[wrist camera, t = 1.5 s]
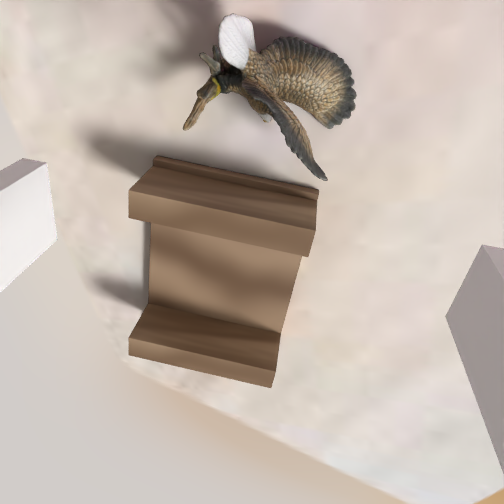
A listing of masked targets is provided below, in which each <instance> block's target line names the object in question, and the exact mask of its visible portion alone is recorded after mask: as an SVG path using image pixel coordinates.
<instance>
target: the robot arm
mask: <svg viewBox="0 0 504 504" xmlns="http://www.w3.org/2000/svg"><path fill="white" fill-rule="evenodd" d="M56 240H57V232H56V225H55V218H54V211H53V203H52V196H51V189H50V182H49V174H48V167H47V163H46V162H40V161H35V160H30V159H24V158H23V159H21V160H19V161H17V162H15V163H14V164H12V165H10V166H8V167H7V168H5V169H3V170H1V171H0V292H1V291H2V290H3V289H5V288H6V287H7V286H8V285H9V284H10V283H11V282H12V281H13V280H14V279H15V278H16V277H17V276H19V275H20V274H21V273H22V272H23V271H24V270H25V269H26V268H27V267H28V266H29V265H30V264H32V263H33V262H34V261H35V260H36V259H37V258H38V257H39V256H40V255H41V254H42V253H43V252H44V251H45V250H47V249H48V248H49V247H50V246H51V245H52V244H53V243H54V242H55V241H56ZM446 319H447V322H448V325H449V327H450V330H451V333H452V335H453V338H454V341H455V343H456V346H457V349H458V352H459V354H460V357H461V360H462V362H463V365H464V368H465V371H466V373H467V376H468V379H469V381H470V384H471V387H472V389H473V392H474V395H475V398H476V400H477V403H478V406H479V408H480V411H481V414H482V416H483V419H484V422H485V425H486V427H487V430H488V433H489V435H490V438H491V441H492V444H493V446H494V449H495V452H496V454H497V457H498V460H499V462H500V465H501V468H502V471H503V473H504V249H502V248H497V247H492V246H486V245H482V246H481V248H480V250H479V252H478V254H477V256H476V258H475V259H474V261H473V263H472V265H471V267H470V269H469V271H468V273H467V275H466V277H465V279H464V281H463V283H462V285H461V287H460V289H459V291H458V293H457V295H456V297H455V299H454V301H453V303H452V305H451V307H450V309H449V311H448V312H447V314H446Z"/></svg>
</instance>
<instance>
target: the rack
mask: <svg viewBox="0 0 504 504" xmlns="http://www.w3.org/2000/svg"><path fill="white" fill-rule="evenodd" d="M318 195H319V190H317V189H312V188H307V187H303V186H298V185H293V184H288V183H284V182H279V181H274V180H270V179H265V178H260V177H255V176H251V175H246V174H241V173H237V172H232V171H227V170H223V169H218V168H213V167H208V166H204V165H199V164H194V163H190V162H185V161H180V160H175V159H171V158H166V157H161V156H156V157H155V158H154V159H153V166H152V167H151V168H150V169H149V170H148V171H147V172H146V173H145V174H144V175H143V176H142V177H141V178H140V179H139V180H138V181H137V182H136V183H135V184H134V185H133V186H132V187H131V188H130V189H129V218H131V219H136V220H141V221H145V222H150V223H151V238H150V268H149V298H148V305H147V306H146V308H145V310H144V312H143V313H142V315H141V317H140V319H139V320H138V322H137V324H136V326H135V327H134V329H133V331H132V333H131V334H130V336H129V355H130V356H135V357H139V358H143V359H148V360H152V361H156V362H161V363H165V364H169V365H173V366H178V367H182V368H186V369H191V370H195V371H199V372H204V373H208V374H212V375H216V376H221V377H225V378H229V379H234V380H238V381H242V382H247V383H251V384H255V385H259V386H264V387H268V388H271V387H272V383H273V380H274V376H275V373H276V366H277V359H278V351H279V344H280V336H281V331H282V327H283V324H284V320H285V316H286V313H287V309H288V305H289V302H290V298H291V294H292V291H293V287H294V283H295V280H296V276H297V272H298V269H299V265H300V261H301V258H302V256H305V257H308V256H309V253H310V249H311V245H312V242H313V238H314V235H315V231H316V212H317V199H318Z"/></svg>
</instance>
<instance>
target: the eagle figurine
mask: <svg viewBox="0 0 504 504" xmlns="http://www.w3.org/2000/svg"><path fill="white" fill-rule="evenodd" d="M218 38H219V43H218V44H219V48H220V51H221V54H222V56H223V59H222V60H221V57H220V53H219V49H218V47H217V46H216V45H213V48H212V51H213V54H214V57H213V59H212V58H211V57H210V56H208V55H207V54H206V53H203V52H202V53H200V55H199V56H200V57H201V58H202V59H203V60H204V61H205V62H206V63H207V64H208V66H209V67H210V72H211V77H210V78H209V80H208V81H207V83H206V84H205V85H204V86H203V87H202V88H200V89H199V90H198V91H197V96H198V98H197V100H196V102H195V105H194V107H193V109H192V112H191V114H190V116H189V117H188V118H187V120H186V122H185V124H184V126H183V130H188V129H190V128H191V127H192V126H193V125H194V124H195V123H196V121H197V119H198V117H199V115H200V114H201V112H202V111H203V110H204V107H205V105H206V104H207V103H208V102H209V101H211V100H212V99H214V98H215V97H216V96H218V95H219V93H225V94H227V93H230V92H235V93H238V94H240V95H242V96H244V97H246V98H247V99H248V102H249V104H250V106H251V107H252V108H253V109H254V110H255V111H256V112H257V113H258V114H259V115H260V117H261V118H262V119H263V121H264V122H267V123H268V122H270V121H271V119H272V117H273V119H274V120H275V121H276V122H277V124H278V125H279V126H280V128H281V132H282V133H283V134H284V135H285V140H286V144H287V146H288V147H290V148H291V151H292V152H293V153H294V154H295V153H296V155H297V157H298V158H299V159H301V161H302V162H303V164H304V165H305V166H306V167H307V168H308V169H309V170H310V171H311V172H312V173H313V174H314V175H315V176H317V177H318V178H319V179H322V180H324V181H328V179H327V177H326V176H325V173H324V172H323V171H322V169H321V168H320V167H319V166H318V164H317V163H316V162H315V160H314V158H313V153H312V149H311V145H310V141H309V138H308V136H307V133H306V130H305V129H304V127H303V126H302V124H301V123H300V121H299V120H298V118H297V117H296V116H295V114H294V113H293V111H291V110H290V108H289V107H288V106H287V105H286V104H285V103H284V102H283V101H286V102H289V103H293V104H295V105H297V106H299V107H301V108H303V109H304V110H306V111H308V112H310V113H311V114H312V115H313V116H314V117H315V118H316V119H317V120H318V121H319V122H321V124H322V125H323V126H325V127H327V128H328V129H332V128H333V126H334V125H340V124H341V123H342V120H343V119H348V118H350V116H351V111H353V110H354V109H355V103H354V101H353V100H354V99H355V98H356V92H355V90H354V89H353V88H351V86H352V85H353V84H354V80H353V79H352V78H351V77H350V76H351V74H352V73H351V70H350V69H349V67H348V65H347V64H345V63H344V60H343V59H342V58H339V57H338V55H337V54H335V53H330V52H329V51H326V50H325V49H318V47H316V46H313V45H311V44H305V43H304V41H303V40H300V39H298V38H293V37H288V38H284V37H280V38H279V39H275V40H274V42H273V44H271V45H269V46H268V47H267V49H263V50H261V52H260V53H257V51H256V46H255V41H254V33H253V25H252V23H251V22H250V20H249V19H247V18H246V17H242V16H238V15H236V14H231V15H229V16H225V17H224V19H223V21H222V22H221V23H220V26H219V34H218ZM230 64H231V65H230Z"/></svg>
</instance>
